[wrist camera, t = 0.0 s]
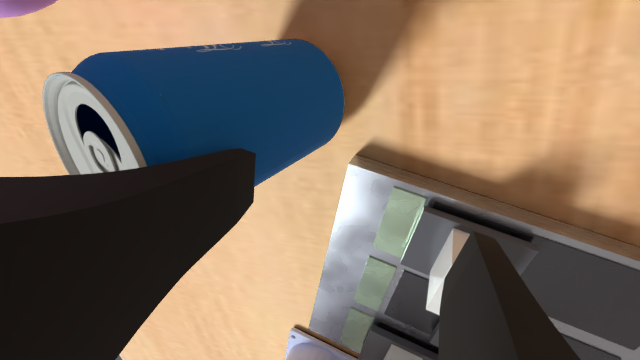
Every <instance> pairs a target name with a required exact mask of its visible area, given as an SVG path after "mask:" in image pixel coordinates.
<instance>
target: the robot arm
mask: <svg viewBox="0 0 640 360" xmlns="http://www.w3.org/2000/svg"><path fill="white" fill-rule="evenodd" d="M255 161H256V153H253V152H250V151H247V150H245V149H242V148H237V149H230V150H224V151H219V152H215V153H210V154H205V155H201V156H196V157H192V158H187V159H183V160H178V161H173V162H168V163H162V164H157V165H152V166H146V167H141V168H134V169H127V170H120V171H112V172H103V173H93V174H78V175H62V176H45V177H0V360H115V359H116V358H117V357H118V355H119V354H120V353H121V351H122V350H123V349H124V347H125V346H126V345H127V343H128V342H129V341H130V340H131V338H132V337H133V336H134V334H135V333H136V332H137V330H138V329H139V328H140V327H141V325H142V324H143V323H144V322H145V320H146V319H147V318H148V317H149V315H150V314H151V313H152V312H153V310H154V309H155V308H156V307H157V305H158V304H159V303H160V302H161V301H162V299H163V298H164V297H165V296H166V295H167V294H168V292H169V291H170V290H171V289H172V288H173V287H174V285H175V284H176V283H177V282H178V281H179V280H180V278H181V277H182V276H183V275H184V274H185V273H186V272H187V271H188V270H189V269H190V268H191V267H192V266H193V265H194V264H195V263H196V262H197V261H198V260H199V259H200V258H202V257H203V256H204V255H205V254H206V253H207V252H208V251H209V250H210V249H211V248H212V247H213V246H214V245H215V244H216V243H217V242H218V241H219V240H220V239H221V238H222V237H223V236H224V235H225V234H226V233H227V232H228V231H230V230H231V229H232V228H233V227H234V226H235V225H236V224H237V222H238V221H239V220H240V219H241V217H242V216H243V215H244V214H245V212H246V211H247V210H248V208H249V207H250V206H251V204H252V203H253V199H254V180H255ZM285 360H358V359H357V358H355V357H353V356H350V355H348V354H346V353H344V352H342V351H340V350H338V349H336V348H334V347H332V346H330V345H328V344H326V343H324V342H322V341H320V340H318V339H316V338H314V337H312V336H310V335H308V334H306V333H304V332H302V331H300V330H298V329H296V328H292V329H291V331H290V334H289V340H288V345H287V350H286V356H285ZM438 360H581V359H580V358H579V357H578V356H577V354H576V353H575V352H574V351H573V349H572V348H571V347H570V345H569V344H568V343H567V341H566V340H565V339H564V337H563V336H562V335H561V334H560V332H559V331H558V330H557V328H556V327H555V326H554V324H553V323H552V322H551V320H550V319H549V317H548V316H547V315H546V313H545V312H544V311H543V309H542V308H541V306H540V305H539V303H538V302H537V301H536V299H535V298H534V296H533V295H532V293H531V292H530V290H529V289H528V287H527V286H526V284H525V283H524V281H523V280H522V278H521V277H520V275H519V274H518V272H517V271H516V269H515V268H514V266H513V265H512V263H511V261H510V260H509V258H508V257H507V255H506V254H505V252H504V251H503V249H502V248H501V246H500V245H499V243H498V242H497V241H496V239H495V238H492V237H489V236H486V235H483V234H481V233H478V232H475V231H472V232H471V234H470V235H469V237H468V239H467V241H466V242H465V244H464V246H463V247H462V249H461V251H460V253H459V254H458V256H457V258H456V260H455V261H454V263H453V265H452V266H451V268H450V270H449V272H448V273H447V275H446V277H445V279H444V285H443V291H442V297H441V303H440V312H439V353H438Z"/></svg>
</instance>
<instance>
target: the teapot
mask: <svg viewBox="0 0 640 360" xmlns="http://www.w3.org/2000/svg"><path fill="white" fill-rule="evenodd" d="M56 1H57V0H0V18H7V17H16V16H22V15H25V14H29V13H32V12H36V11H38V10H40V9H43V8H45V7H47V6H49V5H51V4H53V3H55V2H56Z"/></svg>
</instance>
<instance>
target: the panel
mask: <svg viewBox="0 0 640 360" xmlns="http://www.w3.org/2000/svg"><path fill="white" fill-rule="evenodd" d="M424 205H425V206H428V207H430V208H433V209H436V210H439V211H442V212H445V213H448V214H450V215H453V216H456V217H459V218H462V219H465V220H468V221H470V222H473V223H476V224H479V225H482V226H485V227H488V228H490V229H493V230H496V231H499V232H502V233H505V234H508V235H511V236H513V237H516V238H519V239H522V240H525V241H528V242H531V243H533V244H536V245H537V248H538V251H539V252H538V253H537V255H536V256H535V257H534V258H533V260H532V261H531V262H530V264H529V265H528V266H527V267H526V269H525V270H524V271H523V273H522V274H521V275H520V277H521V278H522V280H523V281H524V283H525V284H526V286H527V287H528V289H529V290H530V292H531V293H532V295H533V296H534V298H535V299H536V301H537V302H538V303H539V305H540V306H541V308H542V309H543V311H544V312H545V313H546V315H547V316H548V317H549V319H550V320H551V322H552V323H553V324H554V326H555V327H556V328H557V330H558V331H559V332H560V334H561V335H562V336H563V337H564V339H565V340H566V341H567V343H568V344H569V345H570V347H571V348H572V349H573V351H574V352H575V353H576V354H577V356H578V357H579V358H580V359H581V360H640V247H637V246H634V245H631V244H628V243H625V242H622V241H619V240H616V239H613V238H610V237H607V236H604V235H601V234H598V233H595V232H591V231H588V230H585V229H582V228H579V227H576V226H573V225H570V224H567V223H564V222H561V221H558V220H555V219H552V218H549V217H546V216H543V215H540V214H536V213H533V212H530V211H527V210H524V209H521V208H518V207H515V206H512V205H509V204H506V203H503V202H500V201H497V200H494V199H491V198H488V197H484V196H481V195H478V194H475V193H472V192H469V191H466V190H463V189H460V188H457V187H454V186H451V185H448V184H445V183H442V182H439V181H436V180H432V179H429V178H426V177H423V176H420V175H417V174H414V173H411V172H408V171H405V170H402V169H399V168H396V167H393V166H390V165H387V164H384V163H380V162H377V161H374V160H371V159H368V158H365V157H362V156H359V155H356V154H355V156H354V157H353V158H352V160H351V161H350V163H349V164H348V169H347V173H346V177H345V181H344V185H343V189H342V193H341V197H340V201H339V205H338V210H337V214H336V218H335V222H334V226H333V230H332V234H331V238H330V242H329V246H328V251H327V255H326V259H325V263H324V267H323V271H322V275H321V279H320V283H319V287H318V292H317V296H316V300H315V304H314V308H313V312H312V316H311V320H310V324H309V330H311V331H313V332H315V333H318V334H320V335H322V336H324V337H326V338H328V339H330V340H332V341H334V342H336V343H338V344H340V345H342V346H344V347H346V348H348V349H350V350H352V351H354V352H356V353H358V354H360V352H361V349H362V347H363V345H364V342H365V340H366V338H367V336H368V333H369V331H370V329H371V326H372V324H373V325H375V326H378V327H380V328H382V329H384V330H386V331H388V332H391V333H393V334H395V335H397V336H399V337H401V338H404V339H406V340H408V341H410V342H412V343H414V344H416V345H419V346H421V347H423V348H425V349H427V350H429V351H432V352H434V353H436V354H438V353H439V347H437V346H435V345H433V344H431V343H429V342H430V335H431V333H432V332H433V330H434V329H435V327H436V326H437V324H438V322H439V315H438V314H435V313H433V312H431V311H428V310H426V304H427V295H428V287H429V278H430V276H429V275H426V274H424V273H421V272H419V271H416V270H414V269H411V268H409V267H406V266H404V265H401V264H400V262H401V258H402V255H403V253H404V251H405V249H406V246H407V244H408V242H409V239H410V237H411V235H412V233H413V230H414V228H415V226H416V223H417V221H418V219H419V217H420V214H421V212H422V210H423V207H424Z"/></svg>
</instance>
